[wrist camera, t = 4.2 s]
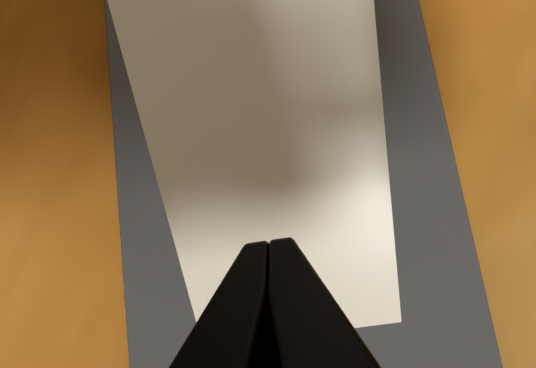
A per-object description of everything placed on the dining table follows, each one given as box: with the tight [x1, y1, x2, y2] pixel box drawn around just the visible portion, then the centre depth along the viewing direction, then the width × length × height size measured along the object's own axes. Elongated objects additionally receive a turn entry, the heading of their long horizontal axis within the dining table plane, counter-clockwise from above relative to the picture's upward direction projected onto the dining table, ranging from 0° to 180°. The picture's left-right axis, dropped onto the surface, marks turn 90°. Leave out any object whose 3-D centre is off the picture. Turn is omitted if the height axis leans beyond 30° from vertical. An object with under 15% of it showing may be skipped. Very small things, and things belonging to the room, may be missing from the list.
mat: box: [104, 0, 503, 368], centre depth 17 cm, size 30×12×1 cm, turn 8°
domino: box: [107, 0, 402, 328], centre depth 12 cm, size 2×6×12 cm
